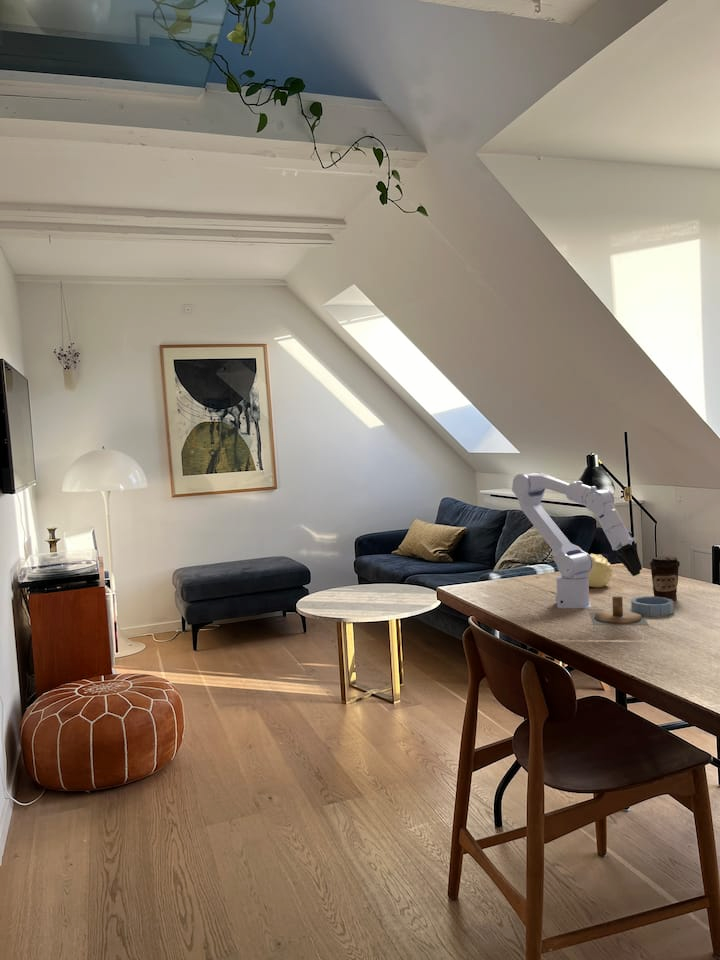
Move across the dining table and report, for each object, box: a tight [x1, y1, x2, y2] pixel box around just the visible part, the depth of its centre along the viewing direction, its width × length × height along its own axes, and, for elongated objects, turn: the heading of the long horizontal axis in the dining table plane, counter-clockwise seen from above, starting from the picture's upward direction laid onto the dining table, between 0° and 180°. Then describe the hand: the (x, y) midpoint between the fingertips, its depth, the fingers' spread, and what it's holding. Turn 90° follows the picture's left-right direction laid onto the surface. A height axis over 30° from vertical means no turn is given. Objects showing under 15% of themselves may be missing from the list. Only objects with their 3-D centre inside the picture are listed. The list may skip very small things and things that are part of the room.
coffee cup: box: [649, 556, 681, 602], centre depth 228 cm, size 9×8×13 cm
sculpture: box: [588, 553, 613, 588], centre depth 254 cm, size 12×12×11 cm
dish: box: [630, 595, 675, 617], centre depth 215 cm, size 11×11×4 cm
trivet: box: [588, 611, 650, 626], centre depth 210 cm, size 14×14×1 cm
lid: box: [595, 595, 641, 624], centre depth 209 cm, size 12×12×6 cm
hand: (637, 572), depth 211 cm, fingers open, 7 cm apart
